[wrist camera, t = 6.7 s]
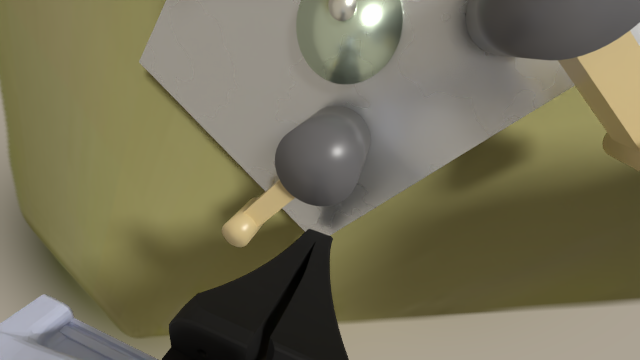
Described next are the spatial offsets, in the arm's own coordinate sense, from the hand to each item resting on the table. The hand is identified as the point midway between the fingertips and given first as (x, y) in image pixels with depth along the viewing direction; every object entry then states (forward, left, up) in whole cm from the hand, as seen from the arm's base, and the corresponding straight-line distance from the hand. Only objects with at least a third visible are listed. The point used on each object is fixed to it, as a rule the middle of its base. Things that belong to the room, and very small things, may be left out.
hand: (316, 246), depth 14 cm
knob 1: (+4, -2, -1) cm, 4 cm away
